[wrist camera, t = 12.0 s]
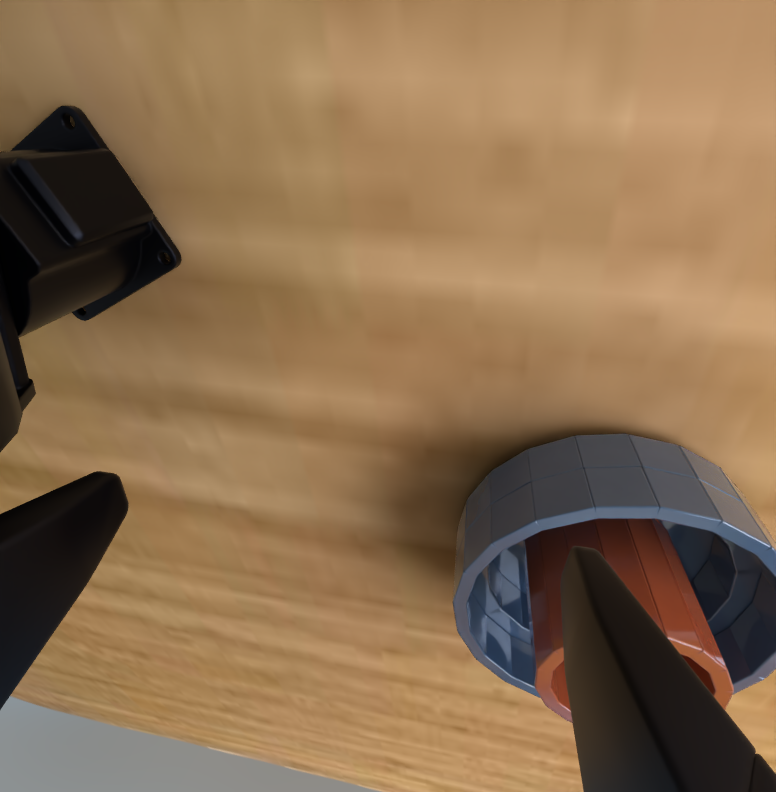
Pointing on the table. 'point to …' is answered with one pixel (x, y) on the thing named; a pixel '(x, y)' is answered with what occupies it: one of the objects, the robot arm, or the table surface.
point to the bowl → (615, 499)
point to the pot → (642, 574)
